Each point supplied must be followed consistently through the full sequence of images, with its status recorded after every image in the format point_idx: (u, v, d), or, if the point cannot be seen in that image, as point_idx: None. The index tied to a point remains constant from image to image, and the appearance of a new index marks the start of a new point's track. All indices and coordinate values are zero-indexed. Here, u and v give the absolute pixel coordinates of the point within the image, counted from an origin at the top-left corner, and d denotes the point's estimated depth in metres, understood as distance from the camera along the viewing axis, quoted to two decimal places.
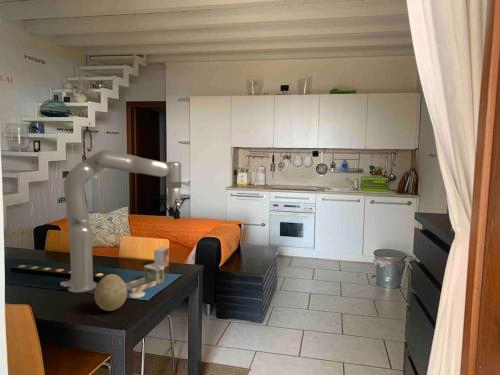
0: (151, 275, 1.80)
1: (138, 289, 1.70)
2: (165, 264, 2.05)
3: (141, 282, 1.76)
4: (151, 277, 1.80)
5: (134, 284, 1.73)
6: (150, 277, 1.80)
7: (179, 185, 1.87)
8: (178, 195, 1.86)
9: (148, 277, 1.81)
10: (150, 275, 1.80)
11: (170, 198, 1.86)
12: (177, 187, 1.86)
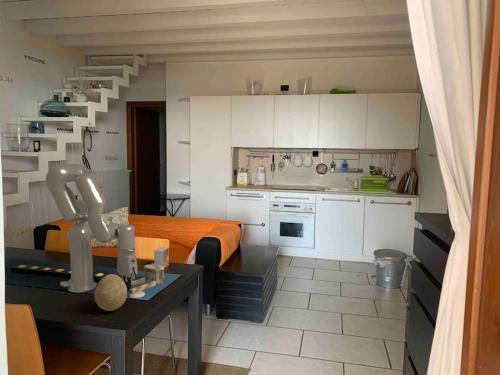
0: (152, 274, 1.80)
1: (138, 289, 1.70)
2: (165, 264, 2.05)
3: (142, 281, 1.77)
4: (152, 276, 1.80)
5: (135, 283, 1.75)
6: (151, 276, 1.81)
7: None
8: None
9: (149, 276, 1.82)
10: (151, 274, 1.81)
11: None
12: None
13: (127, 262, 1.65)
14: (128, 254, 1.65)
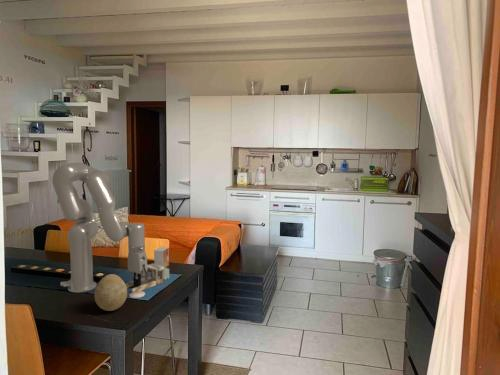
0: (159, 271, 1.85)
1: (138, 289, 1.70)
2: (165, 264, 2.05)
3: (150, 277, 1.82)
4: (159, 273, 1.85)
5: (143, 279, 1.79)
6: (158, 273, 1.86)
7: None
8: None
9: None
10: (158, 271, 1.86)
11: None
12: None
13: (137, 259, 1.69)
14: (138, 251, 1.70)
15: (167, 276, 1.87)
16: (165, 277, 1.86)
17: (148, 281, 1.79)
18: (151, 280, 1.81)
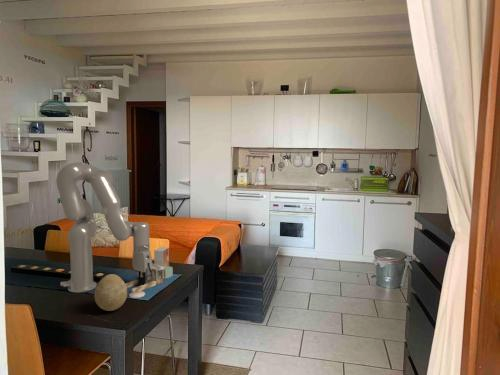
0: None
1: (138, 289, 1.70)
2: (165, 264, 2.05)
3: (154, 276, 1.84)
4: None
5: (147, 278, 1.82)
6: None
7: None
8: None
9: (160, 272, 1.89)
10: None
11: None
12: None
13: (142, 258, 1.71)
14: (143, 250, 1.72)
15: (171, 274, 1.90)
16: (169, 275, 1.89)
17: (152, 280, 1.82)
18: None
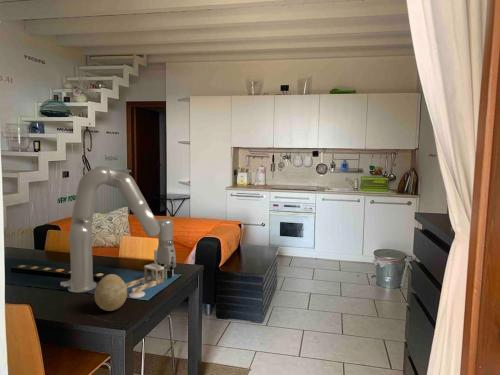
0: (164, 270, 1.87)
1: (138, 289, 1.70)
2: None
3: (154, 276, 1.84)
4: (164, 272, 1.87)
5: (147, 278, 1.82)
6: None
7: None
8: None
9: None
10: None
11: None
12: None
13: (167, 252, 1.84)
14: (168, 245, 1.85)
15: None
16: None
17: (152, 280, 1.82)
18: None
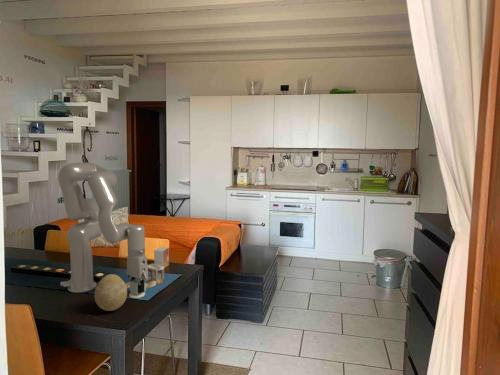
0: (134, 284, 1.63)
1: None
2: (165, 264, 2.05)
3: (153, 277, 1.84)
4: (134, 286, 1.63)
5: None
6: (133, 286, 1.63)
7: None
8: None
9: (131, 286, 1.64)
10: (133, 284, 1.63)
11: None
12: None
13: (137, 264, 1.60)
14: (138, 255, 1.60)
15: None
16: None
17: (151, 280, 1.81)
18: (154, 279, 1.83)
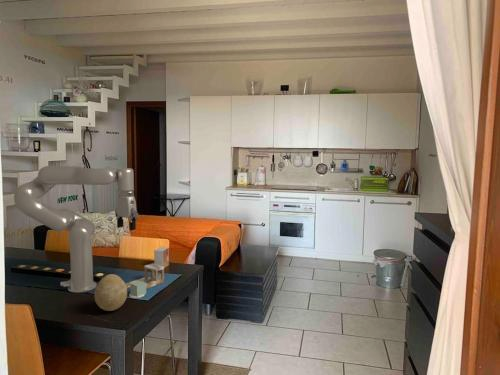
0: (135, 286, 1.63)
1: None
2: (165, 264, 2.05)
3: (153, 277, 1.84)
4: (135, 289, 1.63)
5: (146, 278, 1.81)
6: (134, 288, 1.63)
7: None
8: None
9: (131, 288, 1.64)
10: (133, 286, 1.63)
11: None
12: None
13: (126, 203, 1.70)
14: (127, 195, 1.70)
15: (144, 291, 1.65)
16: (141, 292, 1.64)
17: (151, 280, 1.81)
18: (154, 279, 1.83)
